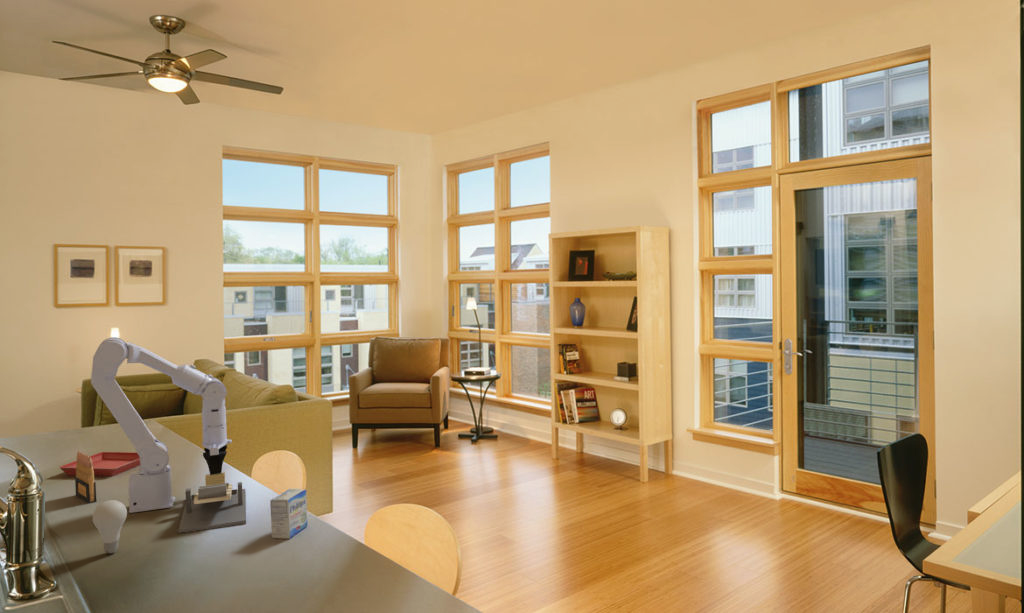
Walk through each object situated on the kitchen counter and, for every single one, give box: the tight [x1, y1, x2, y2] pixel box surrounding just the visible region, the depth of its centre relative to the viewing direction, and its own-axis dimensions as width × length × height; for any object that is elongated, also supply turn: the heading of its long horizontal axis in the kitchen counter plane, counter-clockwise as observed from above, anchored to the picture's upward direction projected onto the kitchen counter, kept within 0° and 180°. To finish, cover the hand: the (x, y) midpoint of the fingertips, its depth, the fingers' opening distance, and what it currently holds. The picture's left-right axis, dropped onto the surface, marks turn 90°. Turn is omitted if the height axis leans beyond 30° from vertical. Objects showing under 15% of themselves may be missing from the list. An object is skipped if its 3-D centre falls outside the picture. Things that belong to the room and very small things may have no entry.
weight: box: [204, 471, 226, 486], centre depth 166 cm, size 4×4×4 cm
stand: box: [178, 481, 247, 534], centre depth 160 cm, size 26×14×6 cm, turn 23°
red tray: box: [59, 451, 141, 477], centre depth 200 cm, size 18×18×3 cm
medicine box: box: [269, 488, 308, 540], centre depth 145 cm, size 8×4×9 cm, turn 168°
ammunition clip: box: [74, 450, 97, 504], centre depth 171 cm, size 11×2×12 cm, turn 49°
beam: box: [191, 482, 238, 504], centre depth 160 cm, size 23×10×3 cm, turn 22°
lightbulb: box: [92, 499, 128, 555], centre depth 135 cm, size 6×6×11 cm
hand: (216, 475), depth 172 cm, fingers open, 4 cm apart
